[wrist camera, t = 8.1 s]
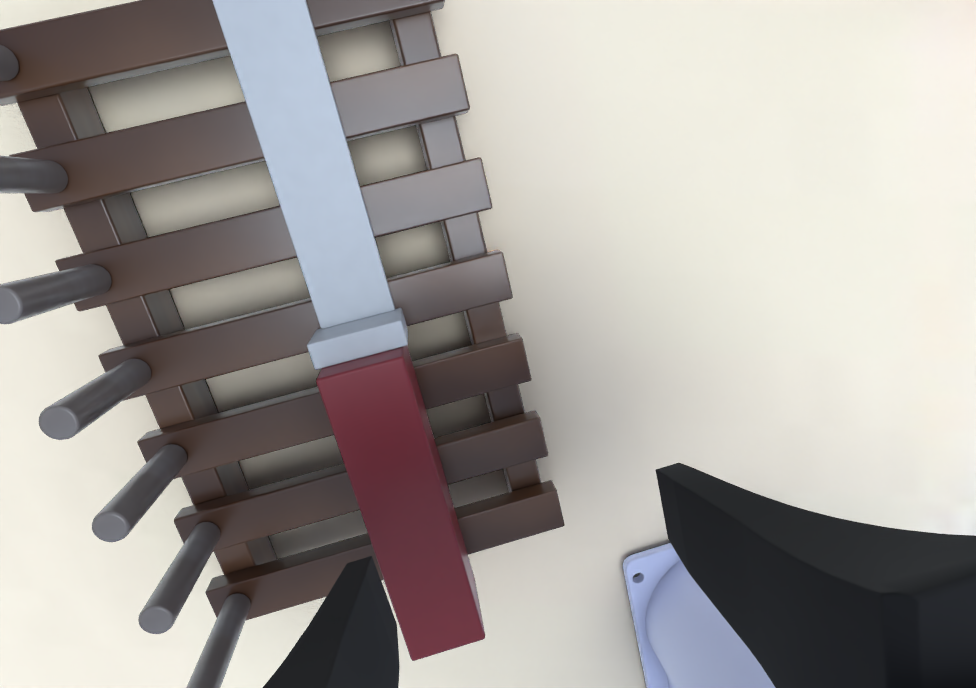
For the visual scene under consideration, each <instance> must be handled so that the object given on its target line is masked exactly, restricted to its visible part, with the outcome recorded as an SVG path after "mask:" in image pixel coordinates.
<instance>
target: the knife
mask: <svg viewBox="0 0 976 688" xmlns="http://www.w3.org/2000/svg"><path fill="white" fill-rule="evenodd" d="M212 1H213V4H214V7H215V10H216V13H217V16H218V19H219V22H220V25H221V28H222V31H223V34H224V37H225V40H226V43H227V46H228V49H229V52H230V55H231V58H232V61H233V64H234V67H235V70H236V73H237V76H238V79H239V82H240V85H241V88H242V91H243V95H244V98H245V101H246V104H247V107H248V110H249V113H250V116H251V119H252V122H253V125H254V128H255V131H256V134H257V137H258V140H259V143H260V146H261V149H262V152H263V155H264V158H265V161H266V164H267V167H268V170H269V173H270V176H271V179H272V182H273V185H274V188H275V191H276V194H277V197H278V200H279V203H280V206H281V209H282V212H283V215H284V218H285V221H286V224H287V227H288V230H289V233H290V236H291V239H292V242H293V245H294V249H295V252H296V255H297V258H298V261H299V264H300V267H301V270H302V273H303V276H304V279H305V282H306V285H307V288H308V291H309V294H310V297H311V300H312V303H313V306H314V309H315V312H316V315H317V318H318V321H319V324H320V327H321V329H317V330H316V332H315V333H314V335H313V337H312V338H311V340H310V341H309V343H308V344H307V348H308V351H309V354H310V357H311V360H312V363H313V366H314V368H315V370H317V369H321V368H322V369H321V371H320V373H319V375H318V377H317V379H316V383H317V386H318V389H319V392H320V395H321V398H322V401H323V404H324V407H325V409H326V412H327V415H328V418H329V421H330V424H331V427H332V430H333V433H334V436H335V439H336V442H337V444H338V447H339V450H340V453H341V456H342V459H343V462H344V465H345V468H346V471H347V474H348V476H349V479H350V482H351V485H352V488H353V491H354V494H355V497H356V500H357V503H358V506H359V508H360V511H361V514H362V517H363V520H364V523H365V526H366V529H367V532H368V535H369V538H370V541H371V543H372V546H373V549H374V552H375V555H376V558H377V561H378V564H379V567H380V570H381V573H382V575H383V578H384V581H385V584H386V587H387V590H388V593H389V596H390V599H391V602H392V605H393V608H394V610H395V613H396V616H397V619H398V622H399V625H400V628H401V631H402V634H403V637H404V640H405V642H406V645H407V648H408V651H409V654H410V657H411V659H412V661H415V660H418V659H421V658H424V657H428V656H431V655H434V654H437V653H441V652H444V651H447V650H450V649H454V648H457V647H460V646H463V645H466V644H470V643H473V642H476V641H479V640H483V639H484V638H485V632H484V626H483V621H482V616H481V610H480V605H479V599H478V594H477V588H476V583H475V578H474V575H473V571H472V568H471V564H470V561H469V557H468V554H467V550H466V547H465V544H464V540H463V537H462V533H461V530H460V526H459V523H458V519H457V516H456V512H455V509H454V505H453V502H452V498H451V495H450V492H449V488H448V485H447V481H446V478H445V474H444V471H443V467H442V464H441V460H440V457H439V453H438V450H437V446H436V443H435V439H434V436H433V433H432V429H431V426H430V422H429V419H428V415H427V412H426V408H425V405H424V401H423V398H422V394H421V391H420V387H419V384H418V381H417V377H416V374H415V370H414V367H413V363H412V360H411V356H410V353H409V349H408V346H407V345H408V329H407V325H406V322H405V318H404V315H403V311H402V309H401V308H397V309H395V306H394V303H393V299H392V296H391V292H390V289H389V285H388V282H387V278H386V275H385V271H384V268H383V265H382V261H381V258H380V254H379V251H378V247H377V244H376V240H375V237H374V233H373V230H372V226H371V223H370V220H369V216H368V213H367V209H366V206H365V202H364V199H363V195H362V192H361V188H360V185H359V182H358V178H357V175H356V171H355V168H354V164H353V161H352V157H351V154H350V150H349V147H348V143H347V140H346V137H345V133H344V130H343V126H342V123H341V119H340V116H339V112H338V109H337V105H336V102H335V99H334V95H333V92H332V88H331V85H330V81H329V78H328V74H327V71H326V67H325V64H324V60H323V57H322V54H321V50H320V47H319V43H318V40H317V36H316V33H315V29H314V26H313V22H312V19H311V15H310V12H309V9H308V5H307V2H306V0H212Z"/></svg>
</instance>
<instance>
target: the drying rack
mask: <svg viewBox="0 0 976 688" xmlns="http://www.w3.org/2000/svg"><path fill="white" fill-rule="evenodd" d="M306 2H307V5H308V9H309V12H310V15H311V19H312V22H313V26H314V29H315V33H316V36H320V35H325V34H330V33H334V32H339V31H343V30H348V29H352V28H357V27H361V26H366V25H370V24H375V23H379V22H384V21H388V20H389V21H390V25H391V29H392V33H393V37H394V41H395V45H396V49H397V53H398V57H399V61H400V65H401V66H399V67H395V68H390V69H386V70H381V71H377V72H373V73H368V74H364V75H359V76H355V77H351V78H346V79H342V80H337V81H333V82H330V85H331V88H332V92H333V95H334V99H335V102H336V105H337V109H338V112H339V116H340V119H341V123H342V126H343V130H344V133H345V137H346V140H347V141H351V140H355V139H359V138H363V137H368V136H372V135H376V134H380V133H384V132H389V131H393V130H397V129H401V128H406V127H410V126H414V125H416V128H417V132H418V136H419V139H420V143H421V147H422V151H423V155H424V159H425V163H426V167H427V170H425V171H421V172H417V173H413V174H409V175H404V176H400V177H396V178H392V179H388V180H384V181H380V182H376V183H371V184H367V185H363V186H360V188H361V192H362V195H363V199H364V202H365V206H366V209H367V213H368V216H369V220H370V223H371V226H372V230H373V233H374V237H375V238H376V237H380V236H384V235H388V234H392V233H396V232H400V231H404V230H408V229H412V228H416V227H420V226H424V225H428V224H432V223H436V222H441V226H442V230H443V234H444V238H445V242H446V246H447V250H448V254H449V258H450V262H448V263H444V264H440V265H436V266H432V267H428V268H424V269H420V270H417V271H413V272H409V273H405V274H401V275H397V276H393V277H389V278H387V282H388V285H389V289H390V292H391V296H392V299H393V303H394V306H395V309H397V308H401V309H402V311H403V315H404V318H405V322H406V325H407V326H409V325H413V324H417V323H420V322H424V321H428V320H432V319H436V318H439V317H443V316H447V315H451V314H455V313H458V312H462V311H463V313H464V317H465V321H466V325H467V328H468V332H469V336H470V340H471V344H472V345H471V346H467V347H463V348H460V349H456V350H452V351H448V352H445V353H441V354H437V355H433V356H430V357H426V358H422V359H419V360H415V361H412V363H413V367H414V370H415V374H416V377H417V381H418V384H419V387H420V391H421V394H422V398H423V401H424V405H425V408H426V409H429V408H433V407H437V406H440V405H444V404H448V403H451V402H455V401H459V400H462V399H466V398H469V397H473V396H477V395H480V394H484V395H485V399H486V403H487V407H488V411H489V415H490V419H491V422H490V423H487V424H483V425H480V426H476V427H472V428H469V429H465V430H462V431H458V432H454V433H451V434H447V435H444V436H440V437H437V438H434V439H435V443H436V446H437V450H438V453H439V457H440V460H441V464H442V467H443V471H444V474H445V478H446V481H447V485H448V484H451V483H455V482H458V481H462V480H465V479H469V478H472V477H476V476H479V475H483V474H486V473H490V472H493V471H497V470H500V469H503V470H504V474H505V478H506V482H507V486H508V490H509V492H508V493H505V494H502V495H498V496H495V497H491V498H488V499H484V500H481V501H477V502H474V503H470V504H467V505H464V506H460V507H457V508H454V509H455V512H456V516H457V519H458V523H459V526H460V530H461V533H462V537H463V540H464V544H465V547H466V550H467V554H471V553H475V552H478V551H482V550H485V549H488V548H492V547H495V546H498V545H502V544H505V543H509V542H512V541H515V540H519V539H522V538H525V537H529V536H532V535H536V534H539V533H542V532H546V531H549V530H552V529H556V528H559V527H563V526H564V520H563V516H562V512H561V507H560V503H559V498H558V494H557V490H556V488H555V486H554V484H553V482H552V481H551V480H550V481H546V482H543V483H541V480H540V476H539V471H538V467H537V463H536V459H539V458H542V457H546V456H548V451H547V446H546V442H545V437H544V433H543V428H542V424H541V420H540V417H539V416H538V414H537V412H536V411H530V412H526V413H525V411H524V407H523V403H522V399H521V394H520V390H519V386H518V384H520V383H524V382H528V381H531V375H530V370H529V366H528V362H527V357H526V353H525V348H524V344H523V339H522V338H521V337H520V335H519V334H518V333H516V334H512V335H508V336H507V335H506V330H505V326H504V322H503V318H502V313H501V309H500V305H499V302H500V301H504V300H508V299H511V298H512V297H513V295H512V291H511V287H510V282H509V278H508V273H507V269H506V264H505V260H504V256H503V253H502V252H501V251H500V250H495V251H491V252H487V249H486V245H485V241H484V236H483V232H482V228H481V224H480V219H479V215H478V212H480V211H484V210H488V209H491V208H492V203H491V198H490V194H489V189H488V185H487V181H486V176H485V172H484V167H483V163H482V159H481V158H480V157H479V158H475V159H470V160H465V155H464V151H463V147H462V143H461V138H460V134H459V130H458V125H457V121H456V117H455V116H456V115H461V114H465V113H467V112H468V111H469V109H470V106H469V101H468V97H467V92H466V88H465V83H464V79H463V75H462V70H461V66H460V61H459V57H458V55H457V54H452V55H447V56H443V57H441V53H440V49H439V44H438V40H437V36H436V32H435V27H434V23H433V19H432V14H431V11H434V10H438V9H442V8H443V6H444V2H445V0H306ZM225 56H230V52H229V49H228V46H227V43H226V40H225V37H224V34H223V31H222V28H221V25H220V22H219V19H218V16H217V13H216V10H215V7H214V4H213V1H212V0H139V1H135V2H130V3H125V4H120V5H116V6H111V7H106V8H101V9H97V10H92V11H87V12H83V13H78V14H73V15H68V16H64V17H59V18H54V19H49V20H45V21H40V22H35V23H30V24H26V25H21V26H16V27H12V28H7V29H2V30H0V105H1V106H4V105H8V104H13V103H18V106H19V108H20V110H21V112H22V115H23V117H24V119H25V122H26V124H27V126H28V128H29V131H30V133H31V135H32V137H33V140H34V142H35V144H36V147H37V149H34V150H30V151H26V152H21V153H17V154H12V155H9V156H0V193H24V194H25V196H26V198H27V201H28V203H29V205H30V207H31V209H32V211H33V212H50V211H54V210H58V209H63V208H64V210H65V213H66V215H67V217H68V220H69V222H70V224H71V226H72V229H73V231H74V233H75V236H76V238H77V240H78V242H79V245H80V247H81V249H82V252H83V254H79V255H75V256H70V257H66V258H62V259H58V260H56V261H55V262H56V265H57V267H58V269H59V271H58V272H54V273H49V274H44V275H40V276H35V277H31V278H26V279H22V280H17V281H13V282H8V283H4V284H0V324H11V323H14V322H17V321H20V320H23V319H26V318H29V317H33V316H36V315H39V314H42V313H45V312H48V311H51V310H54V309H57V308H60V307H63V306H66V305H69V304H72V303H74V304H75V306H76V309H77V310H78V311H84V310H88V309H92V308H96V307H100V306H104V305H106V306H107V309H108V311H109V313H110V315H111V318H112V320H113V322H114V325H115V327H116V329H117V331H118V334H119V336H120V338H121V340H122V343H123V346H119V347H116V348H112V349H109V350H107V351H105V352H104V353H102V354H100V355H99V359H100V361H101V364H102V366H103V368H104V370H105V372H106V373H104V374H103V375H101V376H99V377H98V378H96V379H94V380H92V381H91V382H89V383H87V384H86V385H84V386H82V387H81V388H79V389H77V390H76V391H74V392H72V393H71V394H69V395H67V396H66V397H64V398H62V399H60V400H59V401H57V402H55V403H54V404H52V405H50V406H49V407H47V408H45V409H44V410H43V411H42V413H41V414H40V417H39V426H40V428H41V430H42V431H43V432H44V433H45V434H46V435H47V436H49V437H51V438H53V439H58V440H63V439H69V438H71V437H73V436H75V435H76V434H77V433H79V432H80V431H82V430H83V429H84V428H86V427H87V426H88V425H90V424H91V423H92V422H94V421H95V420H97V419H98V418H99V417H101V416H102V415H103V414H105V413H106V412H108V411H109V410H110V409H112V408H113V407H114V406H116V405H117V404H119V403H120V402H121V401H124V400H128V399H131V398H135V397H139V396H143V395H146V397H147V400H148V402H149V404H150V407H151V409H152V411H153V413H154V416H155V418H156V420H157V423H158V425H159V427H160V429H157V430H153V431H150V432H147V433H146V434H145V435H144V436H143V437H142V438H141V439H140V440H138V445H139V447H140V449H141V452H142V454H143V456H144V458H145V460H146V464H145V465H144V466H143V467H142V469H141V470H140V471H139V472H138V473H137V474H136V475H135V476H134V477H133V478H132V479H131V480H130V481H129V482H128V483H127V484H126V485H125V486H124V487H123V488H122V489H121V490H120V491H119V492H118V493H117V495H116V496H115V497H114V498H113V499H112V500H111V501H110V502H109V503H108V504H107V505H106V506H105V507H104V508H103V509H102V510H101V511H100V512H99V513H98V514H97V515H96V516H95V518H94V519H93V522H92V530H93V532H94V534H95V535H96V536H97V537H98V538H99V539H101V540H103V541H107V542H116V541H119V540H121V539H123V538H125V537H126V536H127V535H128V534H129V532H130V531H131V530H132V529H133V528H134V526H135V525H136V524H137V523H138V521H139V520H140V519H141V518H142V516H143V515H144V514H145V513H146V512H147V510H148V509H149V508H150V507H151V505H152V504H153V503H154V502H155V501H156V499H157V498H158V497H159V496H160V494H161V493H162V492H163V491H164V489H165V488H166V487H167V486H168V485H169V483H170V482H171V481H172V480H173V479H175V478H179V477H182V480H183V482H184V484H185V486H186V489H187V491H188V493H189V496H190V498H191V500H192V502H193V506H189V507H186V508H182V509H181V510H180V512H179V513H178V514H177V516H176V517H175V519H174V523H175V525H176V528H177V530H178V532H179V534H180V536H181V539H182V541H183V543H184V545H183V546H182V548H181V549H180V551H179V553H178V554H177V556H176V557H175V559H174V561H173V562H172V564H171V565H170V567H169V568H168V570H167V572H166V573H165V575H164V576H163V578H162V580H161V581H160V583H159V584H158V586H157V587H156V589H155V591H154V592H153V594H152V595H151V597H150V599H149V600H148V602H147V603H146V605H145V606H144V608H143V610H142V611H141V613H140V615H139V624H140V626H141V628H142V629H143V630H145V631H146V632H148V633H152V634H160V633H164V632H166V631H167V630H169V629H170V628H171V627H172V626H173V624H174V622H175V620H176V618H177V616H178V615H179V613H180V611H181V609H182V607H183V605H184V603H185V602H186V600H187V598H188V596H189V594H190V592H191V590H192V589H193V587H194V585H195V583H196V581H197V579H198V577H199V576H200V574H201V572H202V570H203V568H204V566H205V564H206V563H207V561H208V559H209V557H210V555H211V553H212V552H214V553H215V555H216V557H217V559H218V562H219V564H220V566H221V569H222V571H223V573H224V575H222V576H218V577H215V578H213V579H212V580H211V582H210V584H209V586H208V588H207V590H206V595H207V597H208V599H209V602H210V604H211V606H212V608H213V610H214V613H215V615H216V617H217V620H216V622H215V624H214V627H213V629H212V631H211V633H210V636H209V638H208V640H207V642H206V645H205V647H204V649H203V651H202V654H201V656H200V658H199V660H198V663H197V665H196V667H195V670H194V672H193V674H192V676H191V679H190V681H189V683H188V685H187V688H220V687H221V684H222V682H223V679H224V676H225V674H226V671H227V668H228V666H229V663H230V660H231V658H232V655H233V652H234V649H235V647H236V644H237V641H238V639H239V636H240V633H241V631H242V628H243V625H244V623H245V620H249V619H252V618H255V617H259V616H262V615H266V614H269V613H272V612H276V611H279V610H282V609H286V608H289V607H293V606H296V605H299V604H303V603H306V602H309V601H313V600H316V599H320V598H323V597H326V596H327V595H328V594H329V592H330V590H331V589H332V587H333V585H334V584H335V582H336V580H337V579H338V577H339V575H340V574H341V572H342V571H343V569H344V567H345V566H346V564H347V563H350V562H353V561H356V560H359V559H363V558H366V557H369V556H372V557H373V560H374V563H375V566H376V568H377V571H378V574H379V577H380V580H384V578H383V575H382V573H381V570H380V567H379V564H378V561H377V558H376V555H375V552H374V549H373V546H372V543H371V541H370V538H369V535H368V533H367V534H363V535H360V536H356V537H353V538H350V539H346V540H343V541H339V542H336V543H332V544H329V545H325V546H322V547H318V548H315V549H312V550H308V551H305V552H301V553H298V554H294V555H291V556H287V557H284V558H280V559H277V558H276V555H275V553H274V550H273V548H272V545H271V543H270V540H269V538H268V536H270V535H273V534H277V533H280V532H284V531H287V530H291V529H294V528H298V527H301V526H305V525H308V524H312V523H315V522H319V521H322V520H326V519H329V518H333V517H336V516H340V515H343V514H347V513H350V512H354V511H357V510H360V508H359V506H358V503H357V500H356V497H355V494H354V491H353V488H352V485H351V482H350V479H349V476H348V474H347V471H346V468H345V465H344V463H343V464H340V465H336V466H333V467H329V468H326V469H322V470H318V471H315V472H311V473H308V474H304V475H300V476H297V477H293V478H290V479H286V480H283V481H279V482H275V483H272V484H268V485H265V486H261V487H257V488H254V489H250V490H249V488H248V486H247V483H246V481H245V478H244V476H243V473H242V471H241V468H240V466H239V463H238V461H240V460H244V459H248V458H251V457H255V456H259V455H262V454H266V453H269V452H273V451H277V450H280V449H284V448H288V447H291V446H295V445H299V444H302V443H306V442H309V441H313V440H317V439H320V438H324V437H328V436H331V435H334V433H333V430H332V427H331V424H330V421H329V418H328V415H327V412H326V409H325V407H324V404H323V401H322V398H321V395H320V392H319V389H318V387H314V388H310V389H307V390H303V391H299V392H295V393H292V394H288V395H284V396H280V397H277V398H273V399H269V400H265V401H262V402H258V403H254V404H251V405H247V406H243V407H239V408H236V409H232V410H228V411H224V412H221V413H218V411H217V409H216V406H215V404H214V401H213V399H212V396H211V394H210V391H209V389H208V386H207V384H206V381H205V379H207V378H211V377H215V376H219V375H223V374H227V373H230V372H234V371H238V370H242V369H246V368H249V367H253V366H257V365H261V364H265V363H268V362H272V361H276V360H280V359H284V358H287V357H291V356H295V355H299V354H303V353H306V352H309V351H308V348H307V344H308V343H309V341H310V340H311V338H312V337H313V335H314V333H315V332H316V330H317V329H321V327H320V324H319V321H318V318H317V315H316V312H315V309H314V306H313V303H312V300H311V298H307V299H303V300H299V301H295V302H291V303H288V304H284V305H280V306H276V307H272V308H268V309H264V310H260V311H256V312H252V313H248V314H245V315H241V316H237V317H233V318H229V319H225V320H221V321H217V322H213V323H209V324H205V325H202V326H198V327H194V328H190V329H186V330H185V329H184V327H183V324H182V322H181V319H180V317H179V314H178V312H177V309H176V307H175V304H174V302H173V299H172V297H171V294H170V292H169V289H172V288H176V287H180V286H184V285H188V284H192V283H196V282H200V281H204V280H208V279H212V278H216V277H220V276H224V275H228V274H232V273H236V272H240V271H244V270H248V269H252V268H256V267H260V266H264V265H268V264H272V263H276V262H280V261H284V260H288V259H292V258H296V257H297V255H296V252H295V249H294V245H293V242H292V239H291V236H290V233H289V230H288V227H287V224H286V221H285V218H284V215H283V212H282V209H281V206H277V207H272V208H268V209H264V210H260V211H256V212H252V213H248V214H244V215H239V216H235V217H231V218H227V219H223V220H219V221H215V222H211V223H206V224H202V225H198V226H194V227H190V228H186V229H182V230H178V231H173V232H169V233H165V234H161V235H157V236H153V237H149V238H148V237H147V235H146V232H145V230H144V227H143V225H142V222H141V220H140V217H139V215H138V212H137V210H136V208H135V205H134V203H133V200H132V198H131V195H130V192H135V191H139V190H143V189H147V188H151V187H156V186H160V185H164V184H168V183H173V182H177V181H181V180H185V179H190V178H194V177H198V176H202V175H207V174H211V173H215V172H219V171H224V170H228V169H232V168H236V167H240V166H245V165H249V164H253V163H257V162H262V161H265V158H264V155H263V152H262V149H261V146H260V143H259V140H258V137H257V134H256V131H255V128H254V125H253V122H252V119H251V116H250V113H249V110H248V107H247V104H246V101H245V102H241V103H236V104H232V105H228V106H223V107H219V108H214V109H210V110H206V111H201V112H197V113H193V114H188V115H184V116H179V117H175V118H171V119H166V120H162V121H157V122H153V123H149V124H144V125H140V126H135V127H131V128H127V129H122V130H118V131H113V132H109V133H105V131H104V128H103V126H102V123H101V121H100V118H99V116H98V113H97V111H96V108H95V106H94V103H93V101H92V98H91V96H90V93H89V91H88V88H87V87H90V86H94V85H99V84H103V83H108V82H112V81H117V80H121V79H126V78H130V77H135V76H140V75H144V74H149V73H153V72H158V71H162V70H167V69H171V68H176V67H180V66H185V65H189V64H194V63H198V62H203V61H207V60H212V59H216V58H221V57H225Z"/></svg>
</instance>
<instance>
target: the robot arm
mask: <svg viewBox="0 0 976 688" xmlns="http://www.w3.org/2000/svg"><path fill="white" fill-rule="evenodd" d="M656 474H657V479H658V485H659V490H660V496H661V501H662V507H663V512H664V518H665V523H666V529H667V534H668V539H669V541H670V543H669V544H665V545H662V546H659V547H656V548H652V549H649V550H646V551H642V552H639V553H636V554H632V555H630V556H628V557H627V558H626V559H625V560H624V562H623V570H624V575H625V580H626V586H627V591H628V596H629V601H630V606H631V611H632V616H633V621H634V626H635V631H636V636H637V641H638V646H639V652H640V657H641V662H642V667H643V672H644V677H645V682H646V687H647V688H976V536H969V535H948V534H937V533H928V532H918V531H909V530H901V529H894V528H887V527H881V526H875V525H870V524H864V523H859V522H853V521H848V520H844V519H839V518H835V517H831V516H827V515H823V514H819V513H815V512H811V511H807V510H804V509H800V508H797V507H794V506H790V505H787V504H784V503H781V502H778V501H775V500H772V499H769V498H766V497H764V496H761V495H758V494H755V493H753V492H750V491H748V490H745V489H742V488H740V487H737V486H735V485H732V484H730V483H727V482H725V481H723V480H720V479H718V478H716V477H713V476H711V475H708V474H706V473H704V472H701V471H699V470H697V469H694V468H692V467H689V466H687V465H684V464H681V463H676V464H673V465H670V466H666V467H663V468H660V469H657V470H656ZM637 573H640V574H639V576H637V577H633V576H634V575H635V574H637ZM398 683H399V651H398V637H397V624H396V621H395V618H394V616H393V613H392V610H391V607H390V605H389V602H388V599H387V596H386V593H385V591H384V588H383V585H382V582H381V580H380V577H379V574H378V571H377V568H376V566H375V563H374V560H373V557H372V556H369V557H366V558H363V559H359V560H356V561H353V562H350V563H347V564H346V566H345V567H344V569H343V571H342V572H341V574H340V575H339V577H338V579H337V580H336V582H335V584H334V585H333V587H332V589H331V590H330V592H329V594H328V595H327V597H326V599H325V600H324V602H323V604H322V605H321V607H320V608H319V610H318V612H317V613H316V615H315V616H314V618H313V620H312V621H311V623H310V624H309V626H308V627H307V629H306V630H305V632H304V633H303V635H302V636H301V637H300V639H299V640H298V642H297V643H296V645H295V646H294V647H293V649H292V650H291V652H290V653H289V655H288V656H287V658H286V659H285V660H284V662H283V663H282V664H281V666H280V667H279V668H278V669H277V671H276V672H275V673H274V675H273V676H272V677H271V678H270V680H269V681H268V682H267V683H266V684H265V686H264V687H263V688H398Z"/></svg>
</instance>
